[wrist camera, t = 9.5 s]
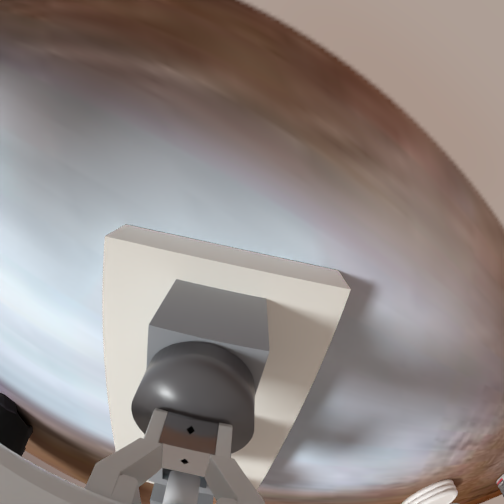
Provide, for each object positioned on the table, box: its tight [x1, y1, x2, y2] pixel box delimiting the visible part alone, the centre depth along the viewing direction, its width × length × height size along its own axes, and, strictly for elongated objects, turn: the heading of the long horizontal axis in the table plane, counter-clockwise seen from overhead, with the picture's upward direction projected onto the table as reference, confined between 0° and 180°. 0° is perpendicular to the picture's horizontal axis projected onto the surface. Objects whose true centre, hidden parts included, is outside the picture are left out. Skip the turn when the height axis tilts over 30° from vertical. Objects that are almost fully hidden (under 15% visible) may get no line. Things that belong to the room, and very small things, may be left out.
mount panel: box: [102, 224, 351, 504], centre depth 19 cm, size 26×14×8 cm, turn 167°
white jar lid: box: [402, 479, 458, 504], centre depth 30 cm, size 10×10×4 cm
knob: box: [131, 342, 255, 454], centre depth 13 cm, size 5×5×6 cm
